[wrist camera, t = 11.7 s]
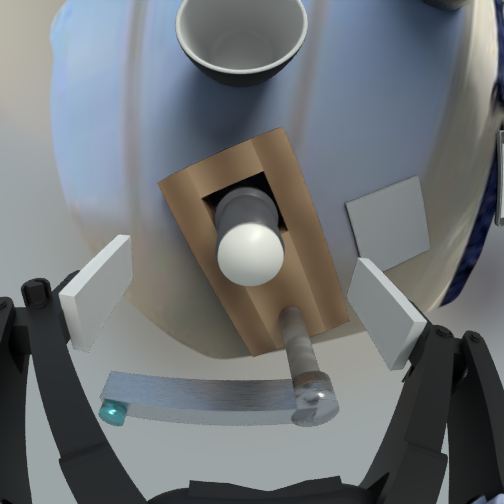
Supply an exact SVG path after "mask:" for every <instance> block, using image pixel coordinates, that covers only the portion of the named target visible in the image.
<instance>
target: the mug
mask: <svg viewBox="0 0 504 504" xmlns="http://www.w3.org/2000/svg"><path fill="white" fill-rule="evenodd" d="M307 27H308V20H307V14H306V11H305V8H304V6H303V4H302V3H301V1H300V0H184V1H183V2H182V4H181V6H180V8H179V10H178V13H177V16H176V22H175V29H176V35H177V39H178V42H179V44H180V46H181V48H182V49H183V51H184V52H185V54H186V55H187V56H188V58H189V59H190V60H191V61H192V62H193V63H194V64H195V65H196V66H197V67H198V68H199V69H200V70H201V71H202V72H203V73H205V74H206V75H207V76H209V77H210V78H212V79H213V80H215V81H217V82H219V83H222V84H224V85H228V86H233V87H248V86H253V85H257V84H259V83H262V82H264V81H266V80H268V79H270V78H271V77H273V76H274V75H276V74H277V73H278V72H279V71H280V70H282V69H283V68H284V67H285V66H286V65H287V64H288V63H289V62H290V61H291V60H292V59H293V57H294V56H295V55H296V54H297V52H298V51H299V49H300V48H301V46H302V44H303V42H304V40H305V37H306V34H307Z"/></svg>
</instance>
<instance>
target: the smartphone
mask: <svg viewBox="0 0 504 504" xmlns="http://www.w3.org/2000/svg"><path fill="white" fill-rule="evenodd" d="M496 136H497V152H498V195H497V209H496V212H495V218H494V223H495V225H497V226H499V227H503V226H504V131H502V130H498V131H497V134H496Z"/></svg>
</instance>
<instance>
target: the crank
mask: <svg viewBox="0 0 504 504" xmlns="http://www.w3.org/2000/svg"><path fill="white" fill-rule="evenodd" d="M100 399H101V401H102V406H101V408H100V411H99V416H100V418H101V419H102V420H103V421H105V422H107V423H108V424H111V425H114V426H122V425H123V423H124V420H125V417H126V416H131V417H137V418H143V419H150V420H158V421H166V422H176V423H187V424H202V425H203V424H204V425H231V426H233V425H236V426H241V425H243V426H245V425H248V426H249V425H277V424H292V423H294V424H296V425H298V426H302V427H312V426H317V425H321V424H324V423H326V422H328V421H330V420H331V419H332V418H334V417H335V416H336V415H337V413H338V412H339V405H338V402H337V399H336V396H335V393H334V390H333V387H332V384H331V381H330V378H329V376H328V375H327V374H326V373H324V372H321V371H308V372H304V373H301V374H299V375H297V376H295V377H294V378H292V379H283V380H255V381H253V380H252V381H251V380H250V381H230V380H227V381H226V380H225V381H224V380H197V379H181V378H168V377H156V376H147V375H139V374H131V373H123V372H116V371H111V372H110V374H109V377H108V379H107V381H106V383H105V386H104V388H103V391H102V393H101V395H100Z"/></svg>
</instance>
